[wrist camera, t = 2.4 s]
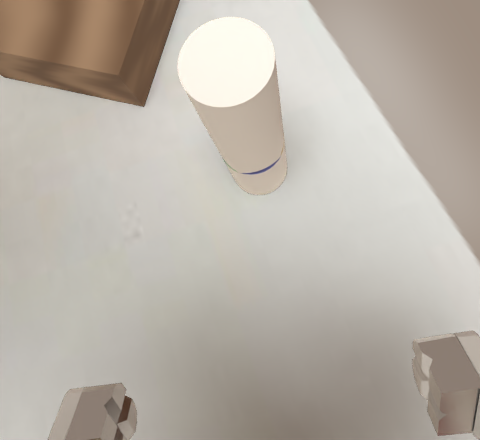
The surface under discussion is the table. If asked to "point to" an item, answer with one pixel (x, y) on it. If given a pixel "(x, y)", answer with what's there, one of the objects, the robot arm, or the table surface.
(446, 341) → the robot arm
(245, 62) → the tube
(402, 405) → the table surface
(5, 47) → the walnut stand
